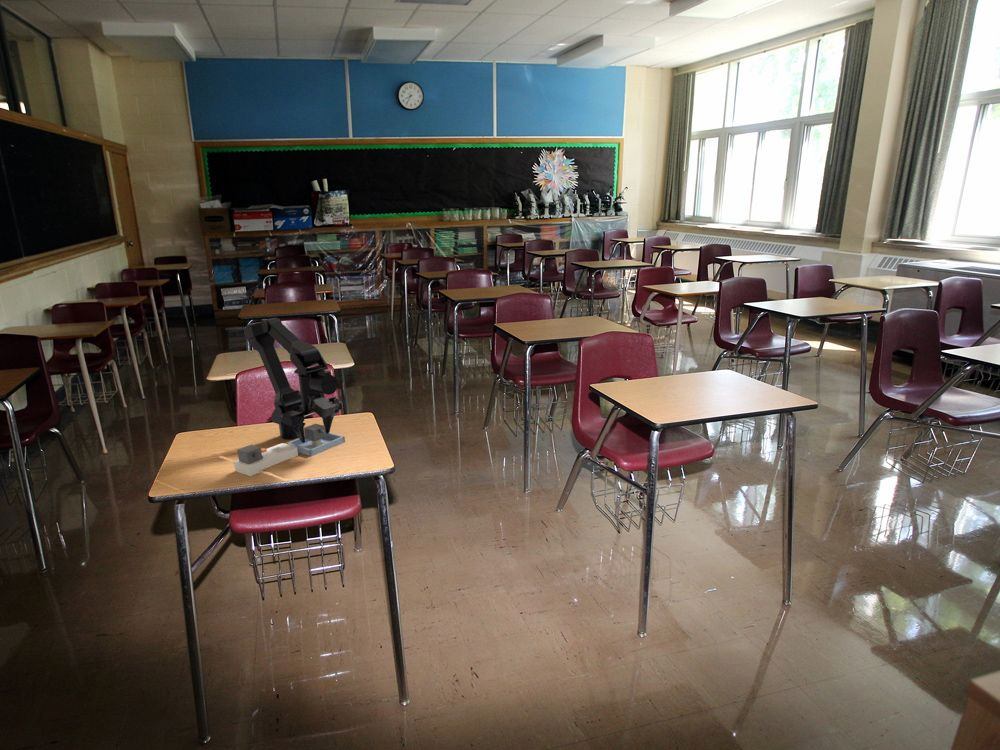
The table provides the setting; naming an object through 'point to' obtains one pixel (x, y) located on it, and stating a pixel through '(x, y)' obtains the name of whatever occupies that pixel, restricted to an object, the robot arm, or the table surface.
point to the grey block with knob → (315, 434)
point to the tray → (326, 443)
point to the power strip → (262, 457)
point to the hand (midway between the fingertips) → (315, 437)
